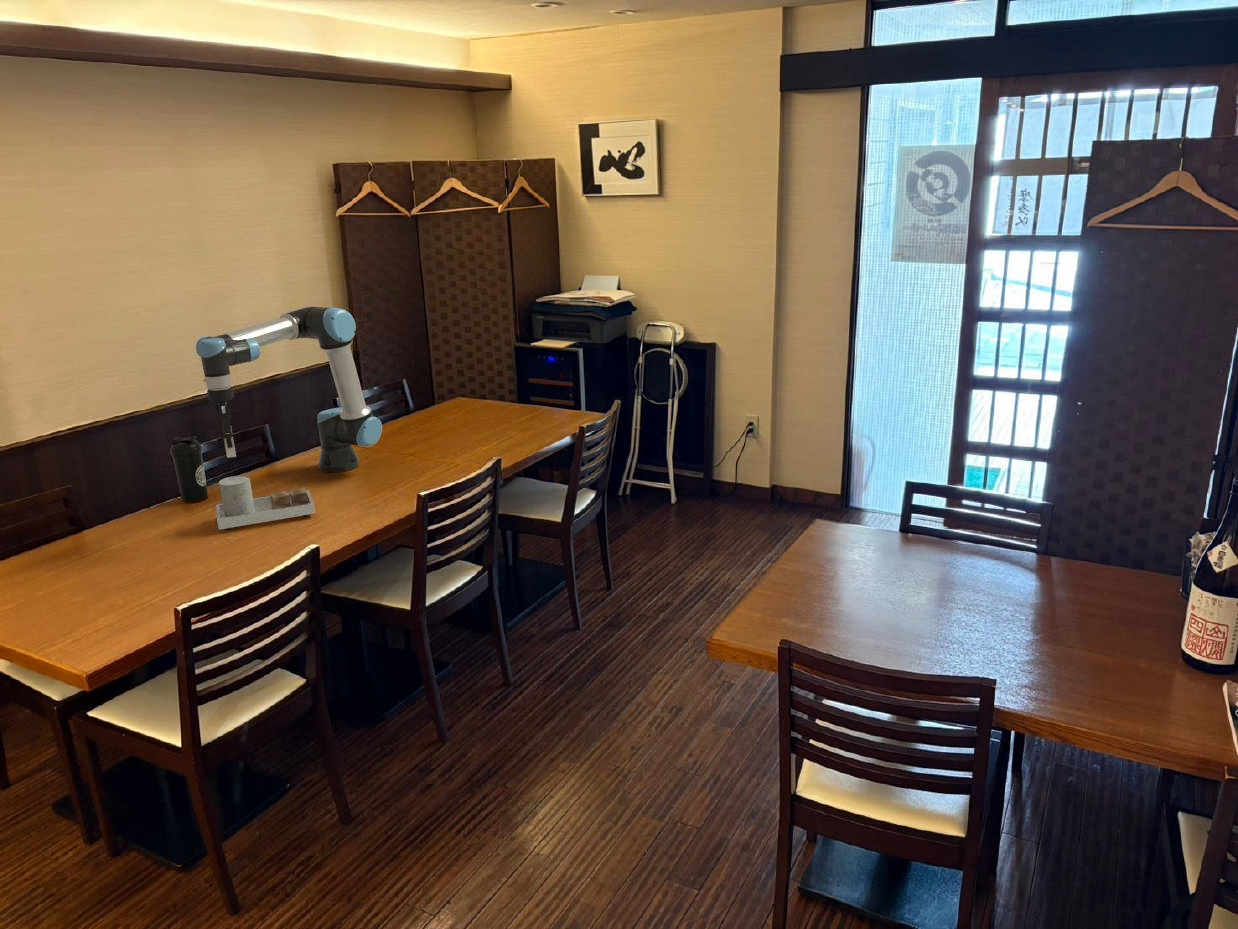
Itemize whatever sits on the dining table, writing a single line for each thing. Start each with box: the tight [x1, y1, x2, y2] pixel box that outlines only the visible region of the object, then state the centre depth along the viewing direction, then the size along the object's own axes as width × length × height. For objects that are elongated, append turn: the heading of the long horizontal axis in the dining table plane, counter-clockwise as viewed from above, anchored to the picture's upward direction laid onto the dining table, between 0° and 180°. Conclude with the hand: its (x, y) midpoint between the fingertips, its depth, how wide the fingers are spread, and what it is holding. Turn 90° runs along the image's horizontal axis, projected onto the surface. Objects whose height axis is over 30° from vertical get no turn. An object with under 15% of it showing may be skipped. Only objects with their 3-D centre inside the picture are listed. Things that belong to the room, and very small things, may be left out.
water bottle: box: [169, 435, 209, 505], centre depth 318 cm, size 10×10×23 cm
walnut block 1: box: [269, 490, 291, 509], centre depth 303 cm, size 5×5×5 cm
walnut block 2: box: [289, 488, 308, 506], centre depth 305 cm, size 5×5×5 cm
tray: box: [215, 489, 316, 531], centre depth 302 cm, size 30×15×5 cm, turn 114°
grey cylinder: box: [218, 475, 255, 517], centre depth 297 cm, size 10×10×12 cm
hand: (230, 451), depth 292 cm, fingers open, 13 cm apart
